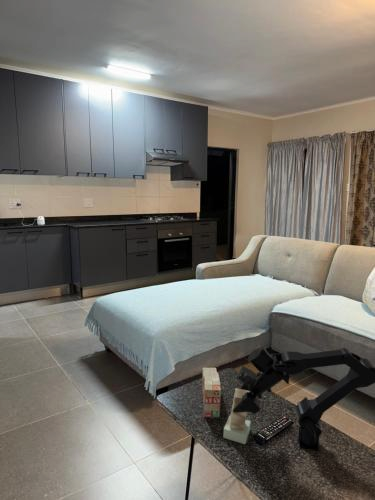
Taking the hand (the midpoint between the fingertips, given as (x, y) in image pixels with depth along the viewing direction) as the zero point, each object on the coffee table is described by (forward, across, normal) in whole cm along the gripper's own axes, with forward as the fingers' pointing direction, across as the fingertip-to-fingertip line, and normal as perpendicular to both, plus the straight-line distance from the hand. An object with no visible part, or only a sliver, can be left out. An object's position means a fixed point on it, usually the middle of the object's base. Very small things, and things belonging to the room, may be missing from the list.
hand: (234, 403), depth 124 cm
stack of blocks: (+16, -17, +1) cm, 24 cm away
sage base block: (+8, 0, +10) cm, 13 cm away
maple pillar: (+5, 0, +6) cm, 8 cm away
